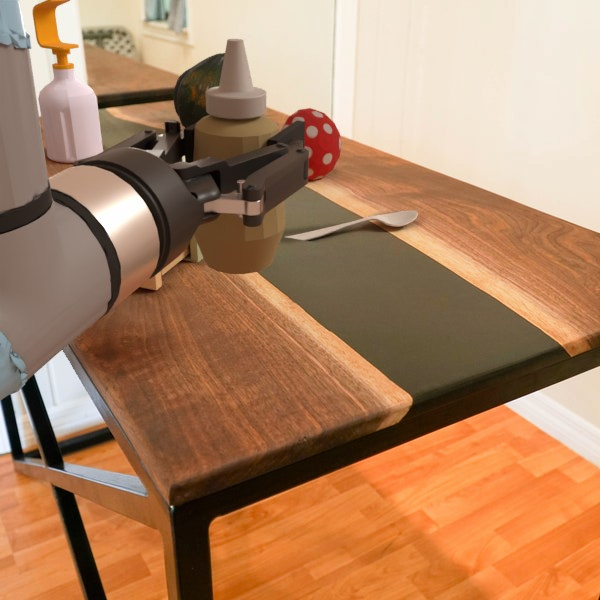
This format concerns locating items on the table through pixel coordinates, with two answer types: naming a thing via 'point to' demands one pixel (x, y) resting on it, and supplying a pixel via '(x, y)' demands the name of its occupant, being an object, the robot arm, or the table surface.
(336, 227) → the spoon
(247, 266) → the squeeze bottle
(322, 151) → the decorative mushroom
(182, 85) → the squash
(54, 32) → the soap bottle
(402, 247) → the table surface
